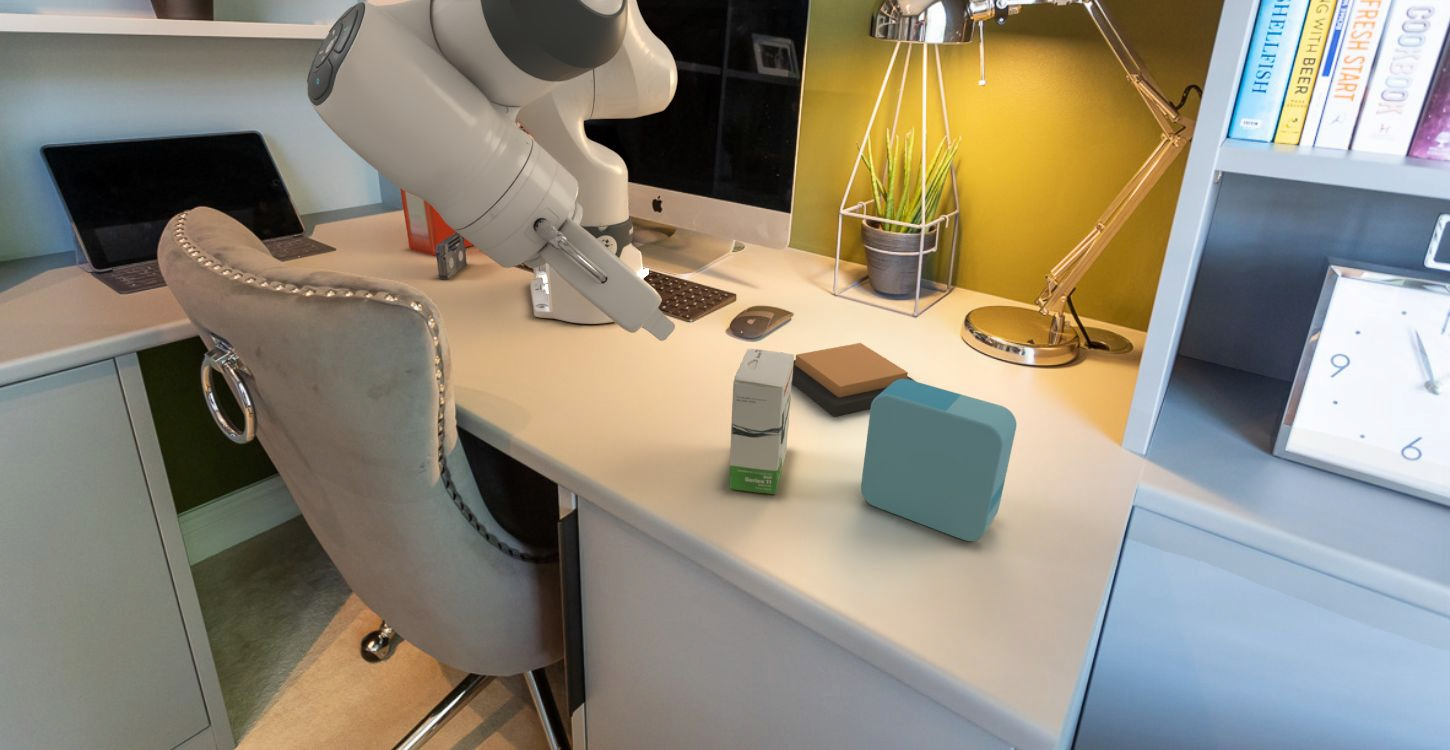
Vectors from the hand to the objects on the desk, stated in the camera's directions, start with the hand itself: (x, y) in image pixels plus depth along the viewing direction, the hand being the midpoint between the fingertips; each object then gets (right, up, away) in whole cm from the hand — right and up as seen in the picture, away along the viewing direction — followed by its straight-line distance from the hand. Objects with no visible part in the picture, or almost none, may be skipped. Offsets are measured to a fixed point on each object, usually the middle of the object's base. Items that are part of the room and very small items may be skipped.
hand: (645, 312), depth 67 cm
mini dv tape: (-40, +12, +68) cm, 80 cm away
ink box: (+10, -15, +13) cm, 23 cm away
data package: (+26, -19, +7) cm, 33 cm away
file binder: (-44, +20, +84) cm, 97 cm away
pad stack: (+22, -7, +32) cm, 40 cm away
